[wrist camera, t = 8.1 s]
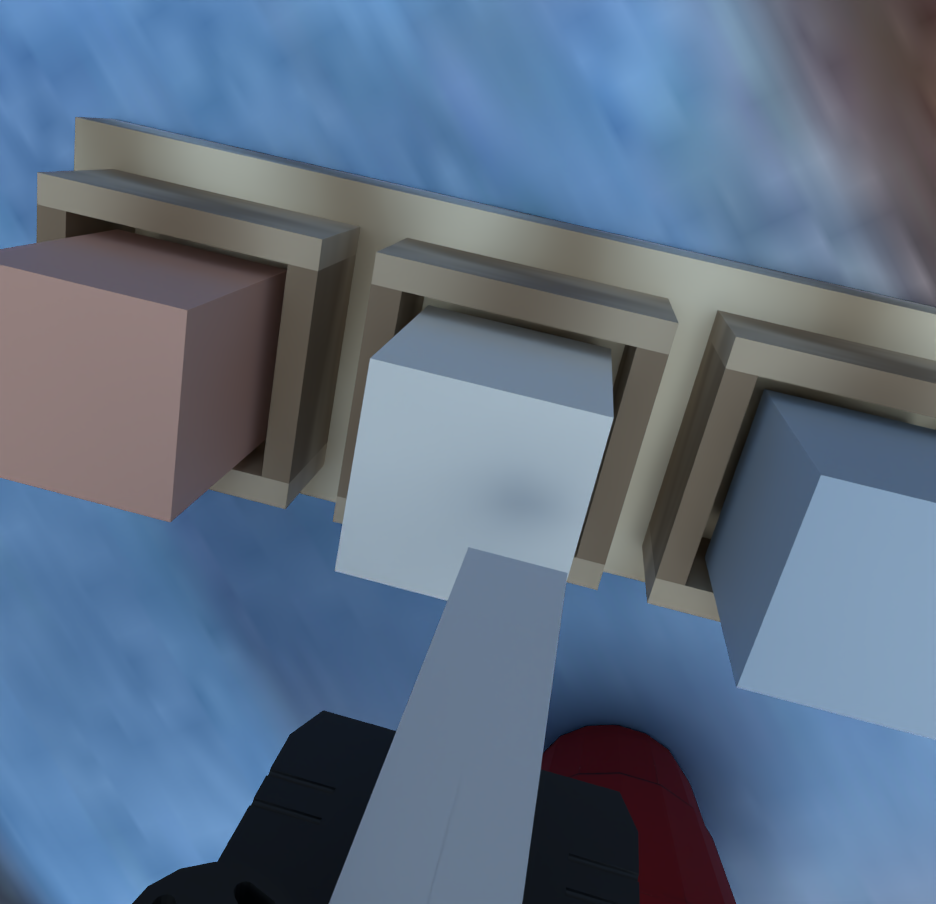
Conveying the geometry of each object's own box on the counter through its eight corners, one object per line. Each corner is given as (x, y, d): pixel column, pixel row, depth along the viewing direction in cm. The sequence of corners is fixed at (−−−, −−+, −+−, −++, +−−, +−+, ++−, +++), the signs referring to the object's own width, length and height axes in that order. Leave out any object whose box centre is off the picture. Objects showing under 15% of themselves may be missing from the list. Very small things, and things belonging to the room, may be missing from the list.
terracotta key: (109, 396, 25) (-33, 469, 19) (117, 229, 23) (-37, 255, 18) (268, 437, 25) (170, 522, 19) (288, 270, 23) (187, 310, 17)
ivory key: (396, 473, 24) (334, 571, 19) (428, 305, 22) (370, 357, 17) (564, 515, 24) (553, 628, 18) (611, 348, 22) (613, 417, 16)
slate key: (704, 557, 23) (736, 687, 18) (764, 388, 21) (821, 474, 16) (884, 603, 23) (975, 750, 17) (961, 435, 21) (1090, 541, 15)
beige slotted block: (100, 415, 30) (-5, 471, 25) (113, 119, 26) (-7, 112, 21) (889, 616, 28) (953, 722, 23) (1022, 327, 24) (1135, 376, 19)
